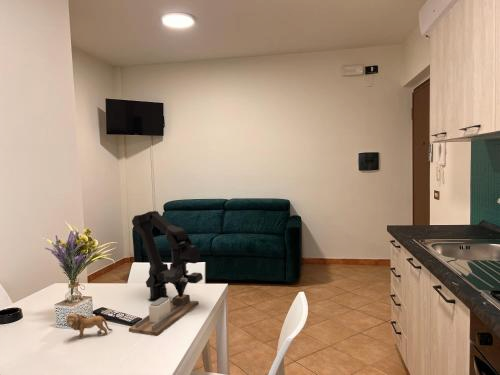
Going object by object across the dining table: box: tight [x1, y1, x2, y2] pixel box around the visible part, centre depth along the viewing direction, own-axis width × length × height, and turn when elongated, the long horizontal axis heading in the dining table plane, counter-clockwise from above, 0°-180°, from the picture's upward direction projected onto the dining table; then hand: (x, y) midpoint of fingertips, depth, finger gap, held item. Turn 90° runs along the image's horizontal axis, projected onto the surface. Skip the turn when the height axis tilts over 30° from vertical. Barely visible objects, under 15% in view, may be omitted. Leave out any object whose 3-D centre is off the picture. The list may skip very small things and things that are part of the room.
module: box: [148, 297, 171, 323], centre depth 141 cm, size 4×8×7 cm, turn 159°
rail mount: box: [128, 293, 199, 337], centre depth 145 cm, size 12×30×4 cm, turn 159°
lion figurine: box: [66, 313, 113, 340], centre depth 131 cm, size 15×5×9 cm, turn 112°
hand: (180, 296), depth 155 cm, fingers closed, pressing on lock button
